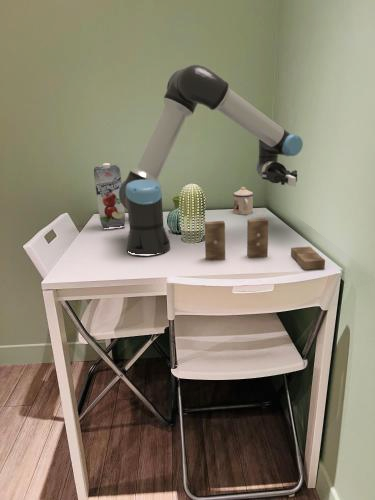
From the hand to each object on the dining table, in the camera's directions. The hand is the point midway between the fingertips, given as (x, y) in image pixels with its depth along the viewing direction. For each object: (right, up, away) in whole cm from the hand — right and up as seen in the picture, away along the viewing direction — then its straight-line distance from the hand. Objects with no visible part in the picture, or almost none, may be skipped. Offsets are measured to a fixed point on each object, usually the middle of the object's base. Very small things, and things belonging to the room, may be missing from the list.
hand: (293, 182), depth 119 cm
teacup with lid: (-8, -5, +52) cm, 53 cm away
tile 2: (-12, -24, 0) cm, 27 cm away
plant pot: (-36, -6, +53) cm, 64 cm away
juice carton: (-66, -12, +40) cm, 78 cm away
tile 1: (-25, -25, 0) cm, 35 cm away
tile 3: (+2, -22, -1) cm, 22 cm away
